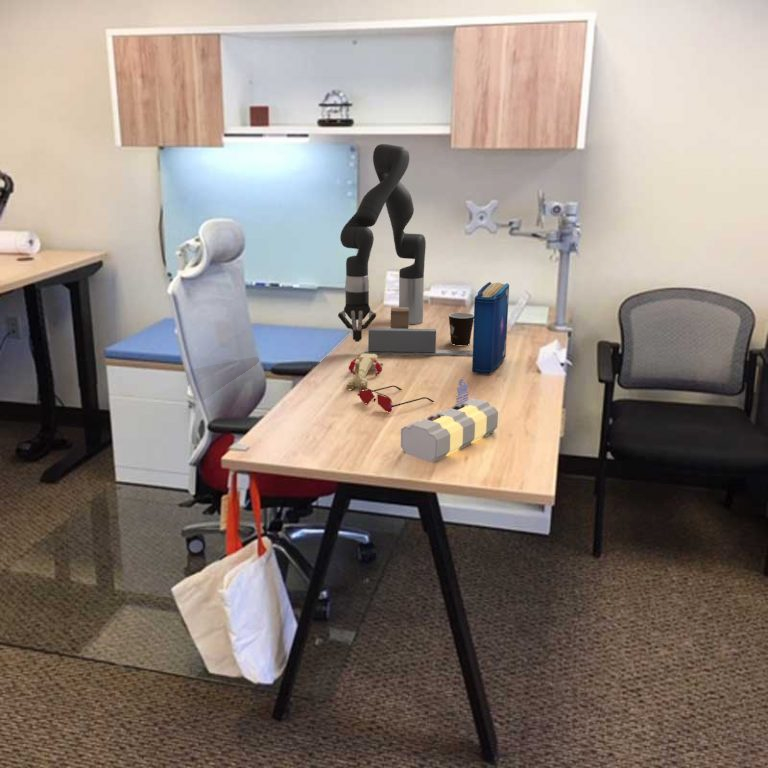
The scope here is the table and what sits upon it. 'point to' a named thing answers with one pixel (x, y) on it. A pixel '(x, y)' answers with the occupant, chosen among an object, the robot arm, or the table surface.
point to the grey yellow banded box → (449, 428)
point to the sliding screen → (402, 340)
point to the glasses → (382, 398)
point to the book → (490, 327)
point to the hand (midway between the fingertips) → (357, 341)
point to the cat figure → (363, 370)
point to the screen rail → (438, 352)
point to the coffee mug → (461, 328)
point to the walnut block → (399, 317)
